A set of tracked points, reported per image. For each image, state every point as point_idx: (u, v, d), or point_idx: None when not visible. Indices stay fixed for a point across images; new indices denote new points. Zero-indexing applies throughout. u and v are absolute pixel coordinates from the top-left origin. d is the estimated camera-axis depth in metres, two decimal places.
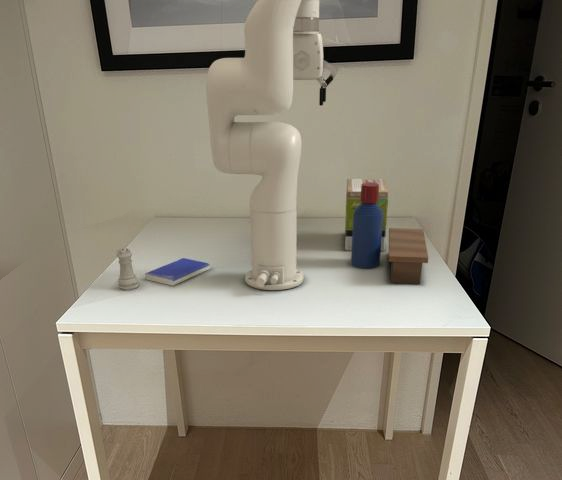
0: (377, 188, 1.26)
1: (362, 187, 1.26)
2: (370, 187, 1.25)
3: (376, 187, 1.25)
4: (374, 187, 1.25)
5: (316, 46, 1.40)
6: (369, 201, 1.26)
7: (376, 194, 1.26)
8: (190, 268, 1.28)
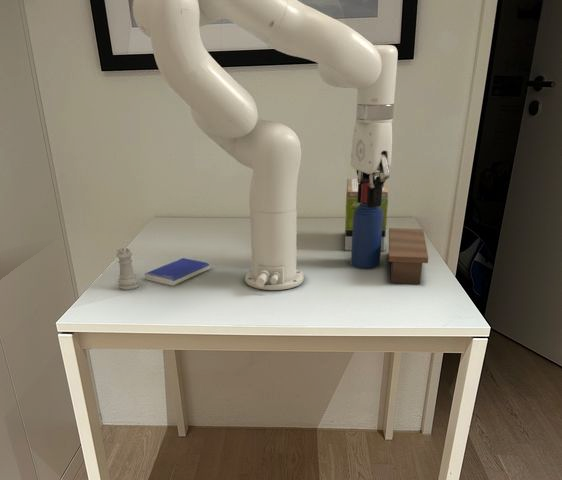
0: None
1: (362, 187, 1.26)
2: None
3: None
4: None
5: (370, 137, 1.18)
6: None
7: None
8: (190, 268, 1.28)
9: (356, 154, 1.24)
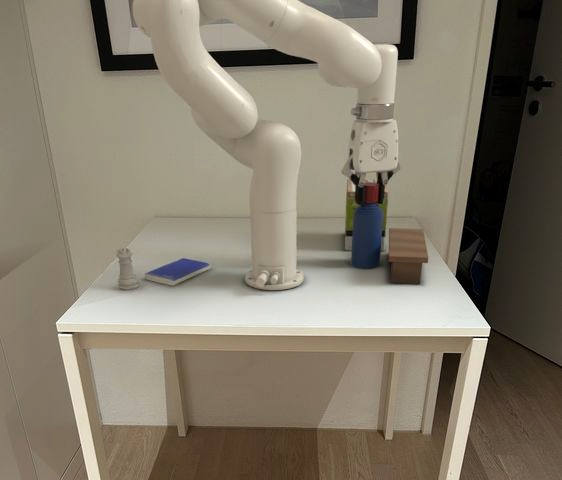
0: None
1: (374, 188, 1.25)
2: (378, 185, 1.26)
3: None
4: None
5: (394, 135, 1.20)
6: None
7: None
8: (190, 268, 1.28)
9: (371, 156, 1.20)
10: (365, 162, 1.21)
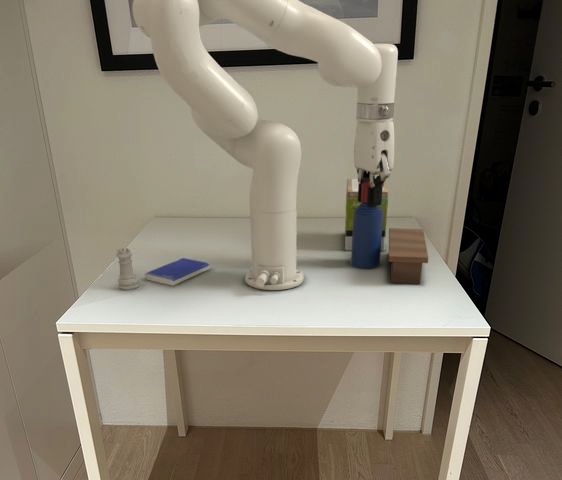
0: None
1: None
2: None
3: None
4: None
5: None
6: None
7: None
8: (190, 268, 1.28)
9: None
10: None
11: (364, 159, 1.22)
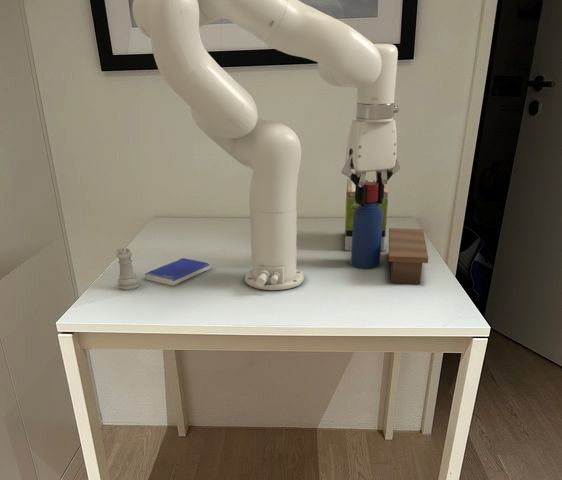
0: None
1: None
2: None
3: (364, 186, 1.25)
4: None
5: None
6: None
7: None
8: (190, 268, 1.28)
9: None
10: None
11: (380, 159, 1.22)
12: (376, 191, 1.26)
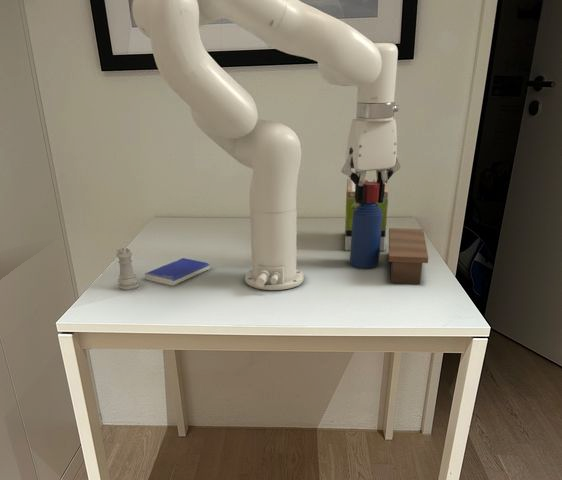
0: (378, 187, 1.25)
1: None
2: (371, 186, 1.24)
3: (377, 186, 1.25)
4: (375, 186, 1.25)
5: None
6: (370, 200, 1.26)
7: (377, 193, 1.26)
8: (190, 268, 1.28)
9: None
10: None
11: (381, 158, 1.22)
12: None
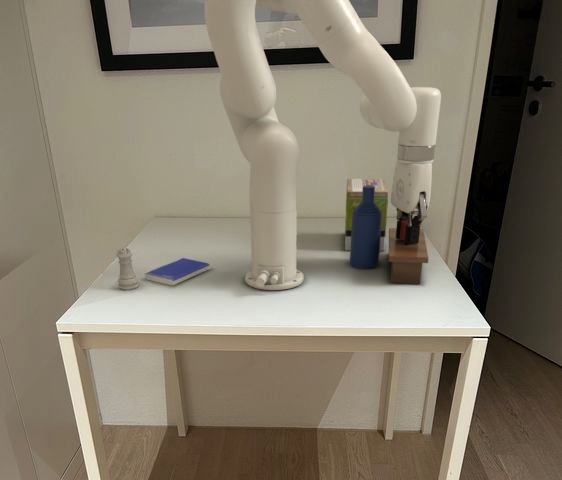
0: None
1: None
2: None
3: None
4: None
5: (409, 178, 1.18)
6: None
7: None
8: (190, 268, 1.28)
9: (396, 192, 1.25)
10: (393, 196, 1.26)
11: None
12: None
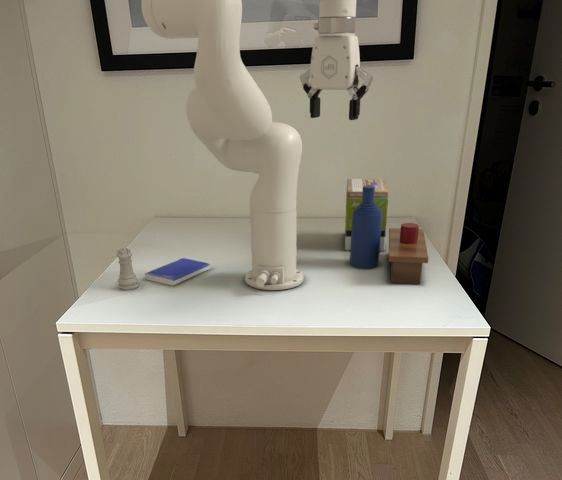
0: None
1: (413, 229, 1.26)
2: (418, 226, 1.27)
3: None
4: None
5: (345, 51, 1.18)
6: None
7: None
8: (190, 268, 1.28)
9: (321, 72, 1.23)
10: (316, 77, 1.24)
11: None
12: None
